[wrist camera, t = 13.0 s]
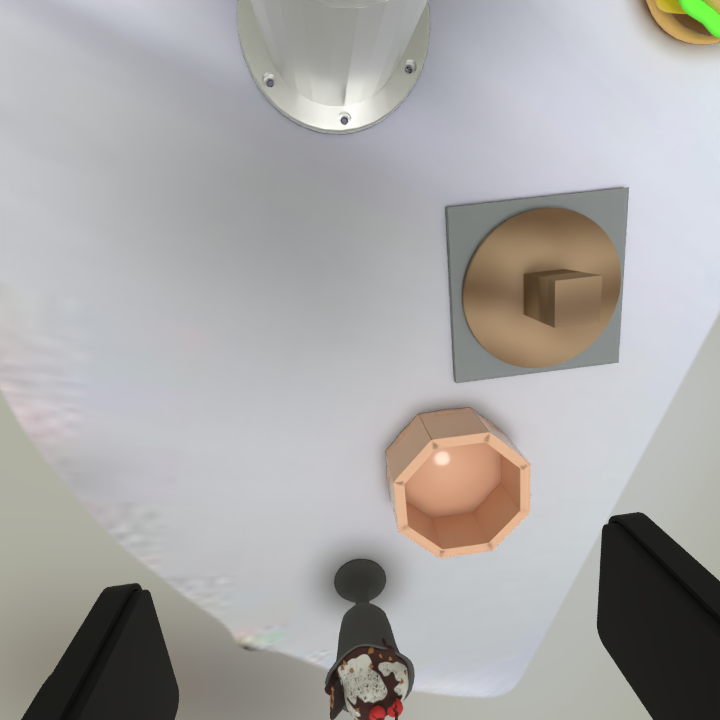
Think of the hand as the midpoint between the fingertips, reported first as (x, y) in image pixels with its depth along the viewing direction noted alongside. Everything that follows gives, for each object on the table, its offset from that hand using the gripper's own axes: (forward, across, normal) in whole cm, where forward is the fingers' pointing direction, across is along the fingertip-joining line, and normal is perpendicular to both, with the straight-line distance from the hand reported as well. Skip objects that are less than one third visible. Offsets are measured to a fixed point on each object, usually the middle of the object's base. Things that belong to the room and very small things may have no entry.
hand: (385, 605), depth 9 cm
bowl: (+28, -8, +14) cm, 33 cm away
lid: (+28, -16, -1) cm, 32 cm away
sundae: (+28, +1, +25) cm, 38 cm away
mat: (+28, -16, -1) cm, 33 cm away
